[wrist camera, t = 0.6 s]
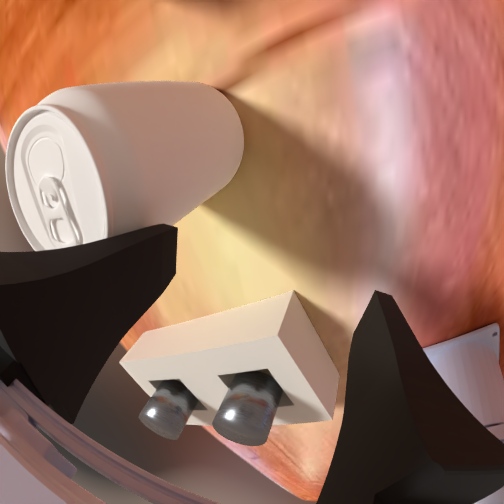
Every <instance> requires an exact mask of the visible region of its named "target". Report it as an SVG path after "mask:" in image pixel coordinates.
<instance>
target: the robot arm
mask: <svg viewBox="0 0 504 504" xmlns="http://www.w3.org/2000/svg"><path fill="white" fill-rule="evenodd" d="M177 233H178V228H177V227H174V226H170V225H167V224H164V223H163V224H157V225H153V226H149V227H145V228H141V229H138V230H134V231H130V232H127V233H124V234H120V235H117V236H113V237H109V238H105V239H102V240H98V241H94V242H90V243H86V244H81V245H77V246H71V247H66V248H60V249H51V250H43V251H33V252H0V504H106V503H105V502H103V501H102V500H100V499H98V498H96V497H95V496H94V495H92V494H91V493H89V492H88V491H86V490H85V489H83V488H82V487H80V486H79V485H78V484H76V483H75V482H74V481H72V480H71V479H72V477H73V476H74V474H75V473H76V472H77V469H76V467H74V466H73V465H72V464H71V463H70V462H69V461H68V460H66V459H65V458H64V457H63V456H62V455H61V454H60V453H59V452H58V451H57V450H56V449H55V447H54V446H53V445H52V444H51V443H50V442H49V441H48V440H47V439H46V438H45V437H44V436H43V435H42V434H40V433H39V432H38V431H37V428H36V425H37V426H38V427H39V428H40V429H41V430H43V431H44V432H45V433H46V434H48V436H50V437H51V438H52V439H54V440H55V441H56V442H57V443H58V444H60V445H61V446H62V447H63V448H65V449H66V450H67V451H69V452H70V453H71V454H73V455H74V456H76V457H77V458H78V459H80V460H81V461H83V462H84V463H86V464H87V465H88V466H90V467H91V468H93V469H94V470H96V471H97V472H99V473H100V474H102V475H104V476H105V477H107V478H108V479H110V480H112V481H113V482H115V483H117V484H118V485H120V486H122V487H123V488H125V489H127V490H129V491H130V492H132V493H134V494H136V495H138V496H140V497H142V498H143V499H145V500H148V501H149V502H151V503H153V504H220V503H217V502H214V501H211V500H209V499H206V498H203V497H201V496H198V495H196V494H193V493H191V492H188V491H186V490H184V489H182V488H179V487H177V486H175V485H172V484H171V483H169V482H166V481H164V480H162V479H160V478H158V477H156V476H154V475H152V474H150V473H148V472H146V471H144V470H143V469H140V468H139V467H137V466H135V465H133V464H131V463H130V462H128V461H126V460H124V459H123V458H121V457H119V456H118V455H116V454H114V453H113V452H111V451H109V450H108V449H106V448H105V447H103V446H102V445H100V444H98V443H97V442H95V441H94V440H92V439H91V438H89V437H88V436H86V435H85V434H84V433H82V432H81V431H79V430H78V429H76V428H75V427H74V426H72V425H71V424H73V423H74V421H75V419H76V417H77V414H78V412H79V410H80V408H81V405H82V404H83V402H84V399H85V397H86V395H87V393H88V392H89V390H90V388H91V386H92V384H93V383H94V381H95V379H96V377H97V376H98V374H99V372H100V371H101V369H102V367H103V366H104V364H105V363H106V361H107V359H108V358H109V356H110V355H111V353H112V352H113V351H114V349H115V348H116V346H117V345H118V343H119V342H120V340H121V339H122V338H123V337H124V335H125V334H126V333H127V332H128V331H129V330H130V328H131V327H132V326H133V325H134V324H135V323H136V322H137V321H138V320H139V319H140V317H141V316H142V315H143V314H144V313H145V312H146V311H147V310H148V309H149V308H150V307H151V306H152V304H153V303H154V302H155V301H156V300H157V299H158V298H159V297H160V296H161V294H162V293H163V292H164V290H165V289H166V288H167V286H168V285H169V283H170V282H171V280H172V279H173V277H174V276H175V274H176V254H177ZM494 332H495V333H494ZM493 333H494V334H493ZM499 344H500V328H499V325H498V324H497V323H493V324H491V325H488V326H486V327H483V328H480V329H478V330H475V331H473V332H470V333H467V334H464V335H462V336H459V337H456V338H453V339H450V340H447V341H444V342H441V343H438V344H435V345H432V346H429V347H426V348H422V347H421V346H420V344H419V342H418V340H417V339H416V337H415V335H414V334H413V332H412V330H411V328H410V327H409V325H408V323H407V321H406V319H405V318H404V316H403V314H402V312H401V311H400V309H399V307H398V305H397V304H396V302H395V300H394V299H393V297H392V296H391V295H389V294H386V293H382V292H379V291H376V290H375V292H374V294H373V296H372V298H371V300H370V302H369V304H368V306H367V308H366V310H365V312H364V314H363V316H362V318H361V320H360V322H359V324H358V326H357V328H356V330H355V331H354V333H353V338H352V343H351V349H350V354H349V361H348V373H347V385H346V396H345V406H344V414H343V420H342V425H341V429H340V433H339V437H338V441H337V445H336V449H335V452H334V455H333V459H332V462H331V465H330V468H329V471H328V474H327V477H326V480H325V483H324V485H323V488H322V491H321V493H320V496H319V498H318V501H317V503H316V504H504V379H503V375H502V372H501V369H500V366H499ZM35 424H36V425H35Z"/></svg>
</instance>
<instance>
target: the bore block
mask: <svg viewBox="0 0 504 504" xmlns="http://www.w3.org/2000/svg"><path fill="white" fill-rule="evenodd" d="M119 363H120V364H121V365H122V366H123V368H124V369H125V370H126V371H127V372H128V373H129V374H130V375H131V376H132V378H133V379H134V380H135V381H136V382H137V383H138V384H139V385H140V386H141V387H142V389H143V390H144V391H145V392H146V393H147V394H148V395H149V396H150V397H152V395H153V394H154V392H155V391H156V389H157V388H158V386H159V385H160V383H161V382H162V380H169V379H175V380H178V381H180V382H182V383H183V384H184V385H185V386H186V387H187V388H188V389H189V390H190V391H191V392H192V393H193V395H194V396H195V397H196V398H197V399H198V400H199V401H198V403H197V405H196V407H195V409H194V410H193V412H192V414H191V416H190V418H189V419H188V421H187V423H186V424H190V425H211V426H213V425H212V422H213V420H214V418H215V416H216V414H217V412H218V409H219V407H220V405H221V403H222V401H223V399H224V397H225V395H226V393H227V391H228V389H229V387H230V385H231V383H232V381H233V378H234V376H235V375H236V374H237V373H240V372H247V371H254V370H256V371H260V372H263V373H266V374H268V375H270V376H272V377H273V378H275V379H276V381H277V382H278V384H279V385H280V386H281V388H282V389H283V393H282V396H281V399H280V402H279V405H278V408H277V411H276V414H275V417H274V420H273V423H272V425H283V424H297V423H308V422H318V421H327V420H333V415H334V409H335V403H336V397H337V391H338V384H339V377H340V374H339V373H338V371H337V369H336V367H335V365H334V363H333V361H332V360H331V358H330V356H329V354H328V352H327V350H326V348H325V347H324V345H323V343H322V341H321V339H320V337H319V336H318V334H317V332H316V330H315V328H314V326H313V325H312V323H311V321H310V319H309V317H308V316H307V314H306V312H305V310H304V308H303V306H302V305H301V303H300V301H299V299H298V297H297V296H296V294H295V292H294V290H292V291H289V292H286V293H283V294H279V295H276V296H273V297H270V298H266V299H263V300H260V301H256V302H253V303H249V304H246V305H243V306H239V307H236V308H232V309H229V310H225V311H222V312H218V313H214V314H211V315H207V316H204V317H200V318H196V319H193V320H189V321H185V322H181V323H178V324H174V325H170V326H166V327H162V328H158V329H154V330H150V331H146V332H144V333H143V334H142V335H141V337H140V338H139V339H138V340H137V341H136V343H135V344H134V345H133V346H132V347H131V349H130V350H129V351H128V352H127V353H126V355H125V356H124V357H123V358H122V360H121V361H120V362H119Z"/></svg>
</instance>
